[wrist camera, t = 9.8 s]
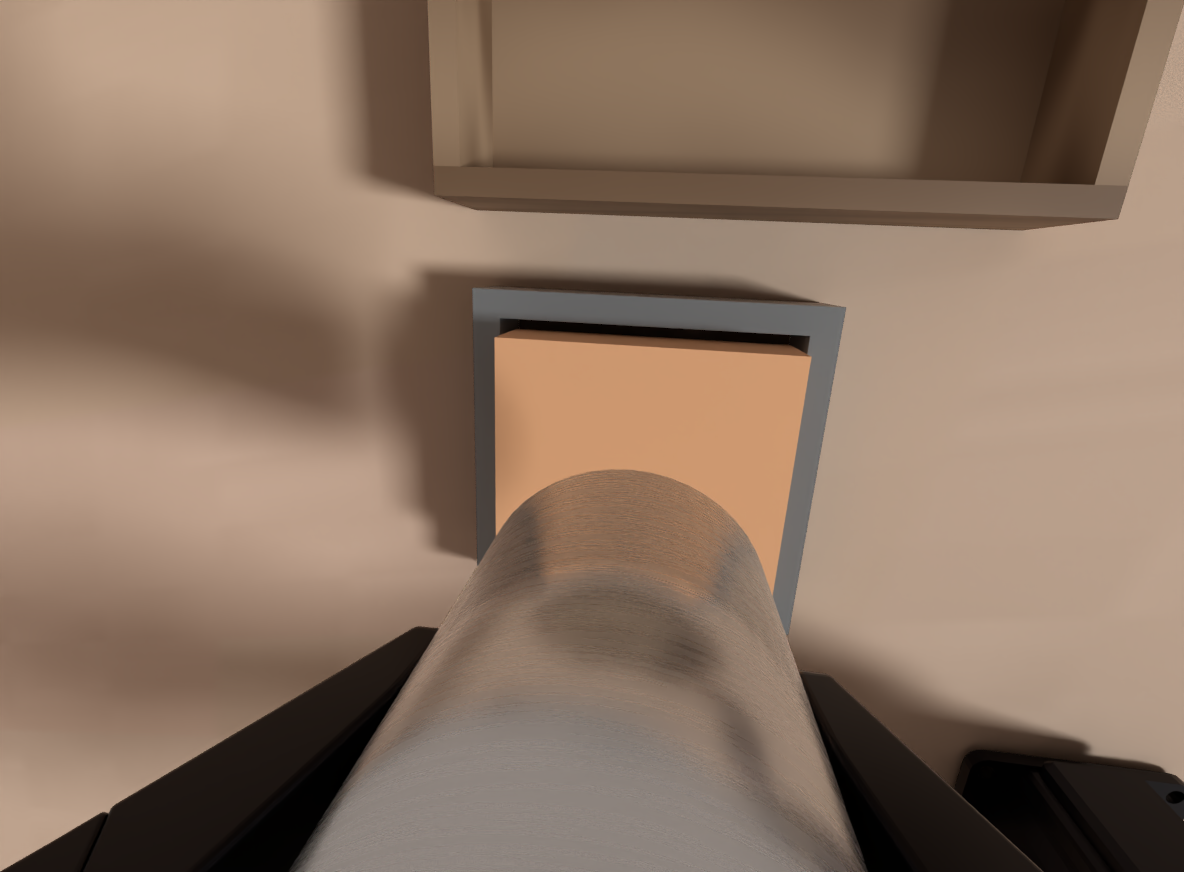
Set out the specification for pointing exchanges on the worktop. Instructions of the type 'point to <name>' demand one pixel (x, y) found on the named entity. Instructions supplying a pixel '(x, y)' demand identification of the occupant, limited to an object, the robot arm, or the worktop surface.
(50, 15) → the worktop surface
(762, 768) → the cylinder
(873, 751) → the robot arm
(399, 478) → the worktop surface
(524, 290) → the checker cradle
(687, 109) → the tray
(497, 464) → the pad
